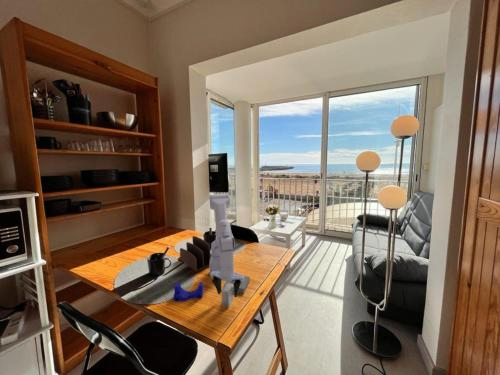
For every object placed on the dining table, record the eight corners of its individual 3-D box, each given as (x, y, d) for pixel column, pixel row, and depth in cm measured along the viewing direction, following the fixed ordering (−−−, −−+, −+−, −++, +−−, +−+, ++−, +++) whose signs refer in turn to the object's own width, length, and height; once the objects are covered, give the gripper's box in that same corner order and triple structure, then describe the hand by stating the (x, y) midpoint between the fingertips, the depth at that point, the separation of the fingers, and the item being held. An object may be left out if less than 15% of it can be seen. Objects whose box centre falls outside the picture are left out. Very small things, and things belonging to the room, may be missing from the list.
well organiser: (223, 290, 97) (223, 285, 97) (231, 278, 107) (230, 274, 107) (243, 293, 95) (243, 288, 94) (249, 281, 104) (249, 276, 104)
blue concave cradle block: (174, 301, 91) (173, 289, 90) (177, 294, 95) (176, 282, 94) (201, 300, 91) (200, 288, 90) (203, 293, 95) (202, 281, 95)
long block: (222, 306, 87) (221, 291, 86) (227, 297, 93) (226, 282, 92) (228, 307, 86) (228, 292, 85) (233, 298, 92) (233, 283, 91)
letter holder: (194, 254, 135) (193, 233, 133) (211, 265, 120) (210, 242, 118) (180, 260, 128) (178, 238, 126) (196, 272, 113) (194, 248, 112)
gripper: (206, 267, 85) (208, 297, 87) (240, 271, 81) (241, 303, 83) (214, 259, 92) (215, 287, 94) (245, 262, 88) (246, 292, 90)
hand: (227, 294), depth 89 cm, fingers open, 7 cm apart
